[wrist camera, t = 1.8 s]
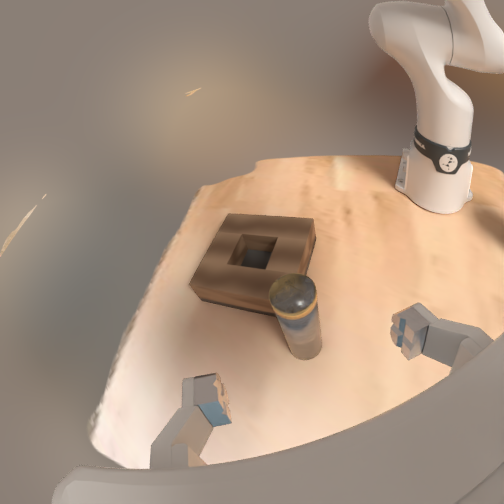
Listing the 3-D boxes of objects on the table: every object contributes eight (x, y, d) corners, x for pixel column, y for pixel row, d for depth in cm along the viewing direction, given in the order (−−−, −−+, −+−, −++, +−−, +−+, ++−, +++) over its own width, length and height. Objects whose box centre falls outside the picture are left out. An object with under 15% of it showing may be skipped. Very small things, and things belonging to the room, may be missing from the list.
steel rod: (294, 327, 38) (276, 270, 28) (325, 333, 37) (320, 276, 26) (285, 356, 36) (262, 309, 26) (317, 363, 34) (309, 317, 24)
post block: (236, 232, 55) (228, 213, 51) (316, 239, 48) (313, 218, 45) (201, 300, 46) (189, 284, 42) (292, 319, 39) (287, 302, 36)
